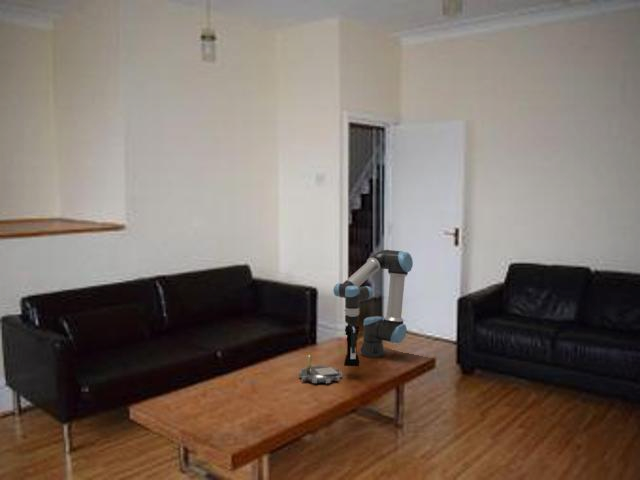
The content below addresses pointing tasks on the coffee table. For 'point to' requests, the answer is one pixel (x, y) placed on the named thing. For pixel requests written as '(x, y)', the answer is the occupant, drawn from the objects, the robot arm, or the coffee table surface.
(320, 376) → the sprocket
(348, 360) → the chess piece
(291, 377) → the coffee table surface
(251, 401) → the coffee table surface
